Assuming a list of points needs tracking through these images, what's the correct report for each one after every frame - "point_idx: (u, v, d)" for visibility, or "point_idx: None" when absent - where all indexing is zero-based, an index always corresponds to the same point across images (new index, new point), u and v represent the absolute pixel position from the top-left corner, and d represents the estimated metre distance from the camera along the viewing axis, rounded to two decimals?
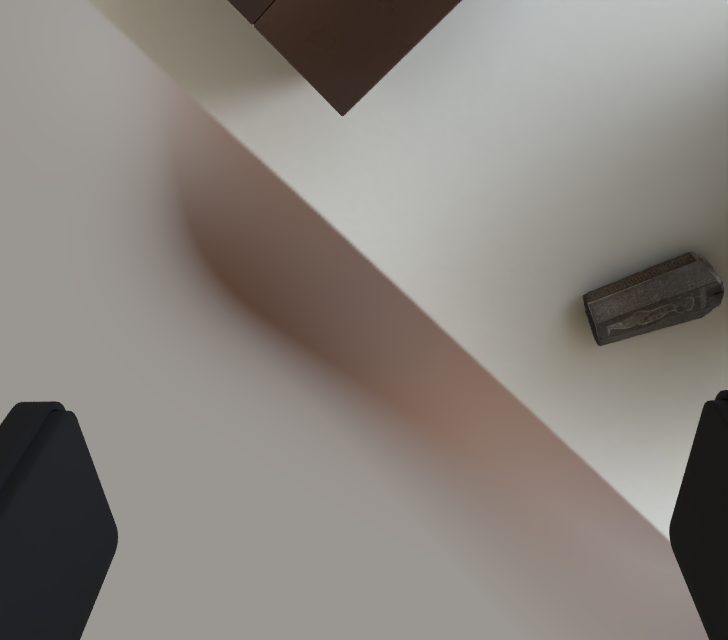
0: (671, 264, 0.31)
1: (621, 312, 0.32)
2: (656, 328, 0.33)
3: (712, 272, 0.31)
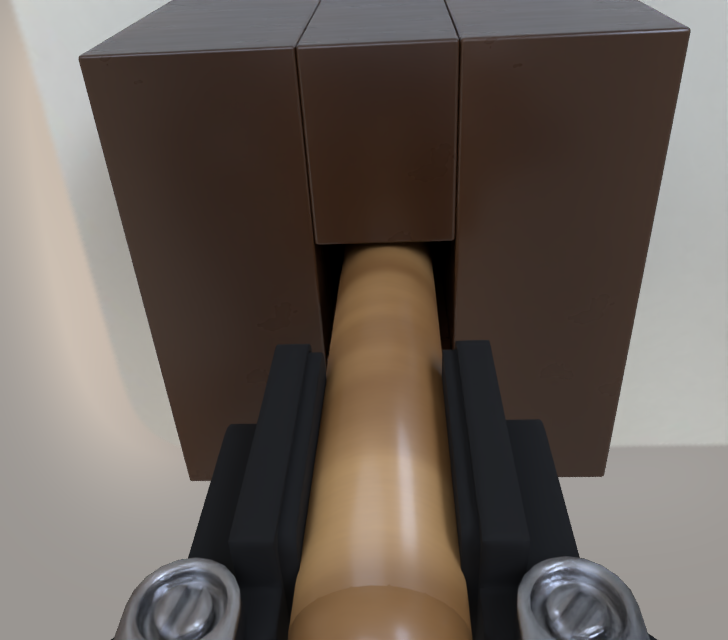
0: None
1: None
2: None
3: None
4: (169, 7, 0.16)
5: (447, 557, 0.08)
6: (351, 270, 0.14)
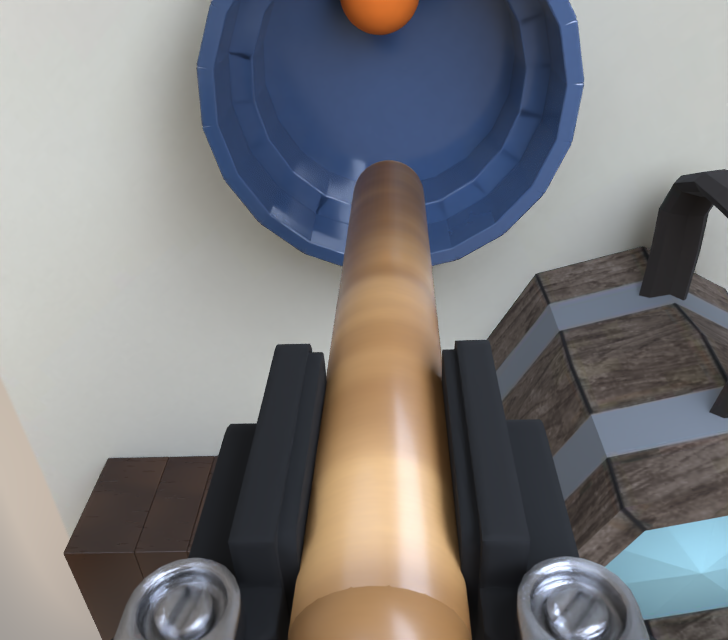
0: None
1: None
2: None
3: None
4: (100, 483, 0.40)
5: (447, 558, 0.08)
6: (351, 275, 0.14)
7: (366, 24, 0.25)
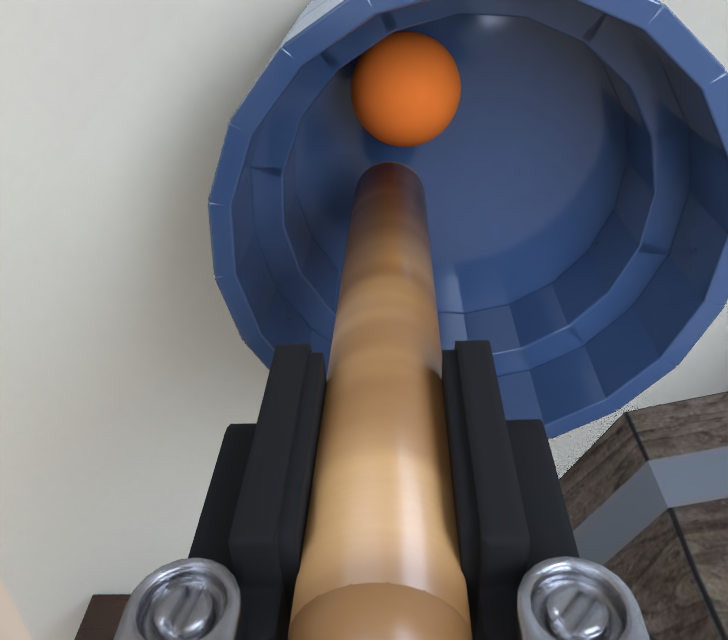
0: None
1: None
2: None
3: None
4: (82, 632, 0.34)
5: (447, 555, 0.08)
6: (352, 275, 0.14)
7: (358, 112, 0.19)
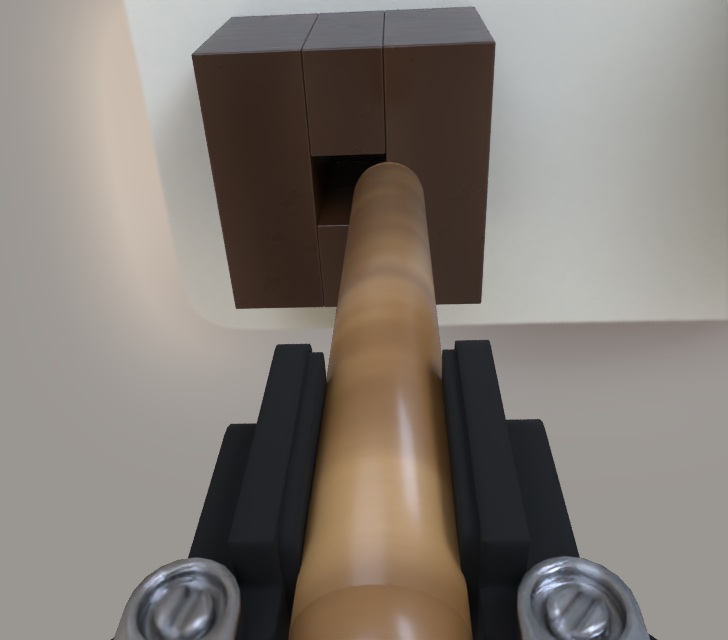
0: None
1: None
2: None
3: None
4: (227, 26, 0.28)
5: (447, 557, 0.08)
6: (351, 276, 0.14)
7: None
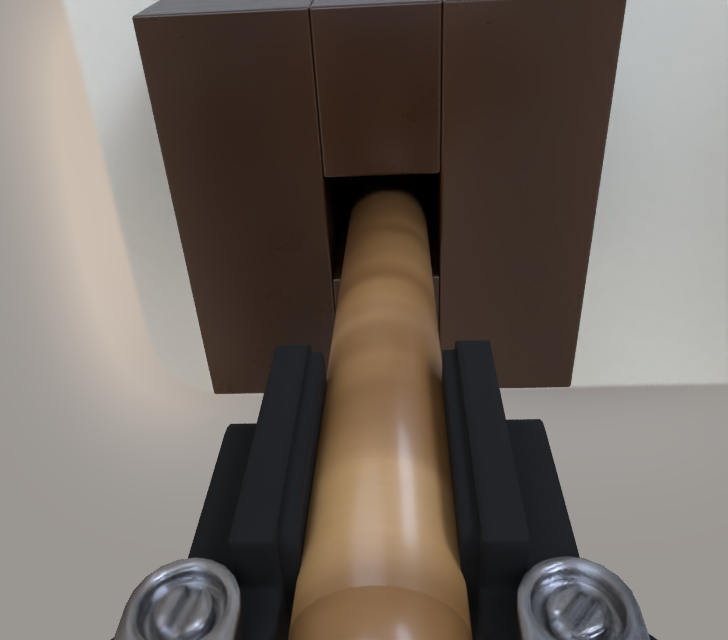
0: None
1: None
2: None
3: None
4: None
5: (447, 558, 0.08)
6: (351, 277, 0.14)
7: None
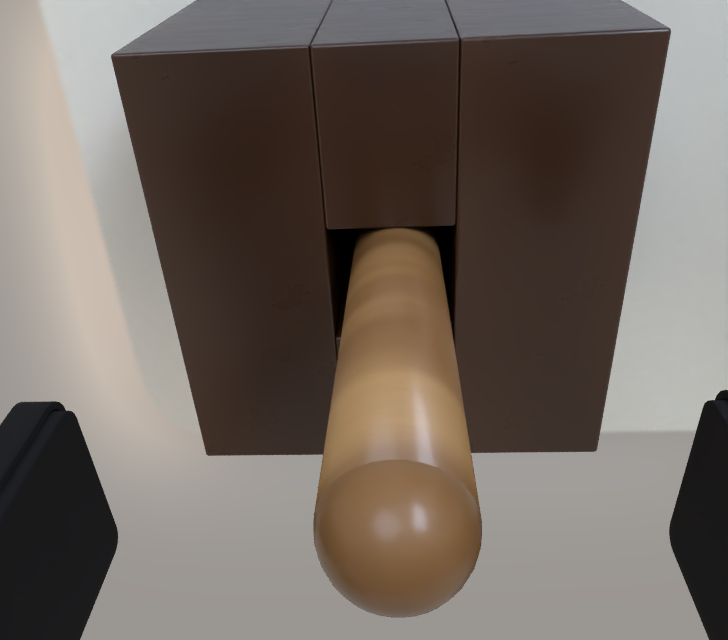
0: None
1: None
2: None
3: None
4: (189, 10, 0.17)
5: (457, 448, 0.08)
6: (364, 245, 0.15)
7: None
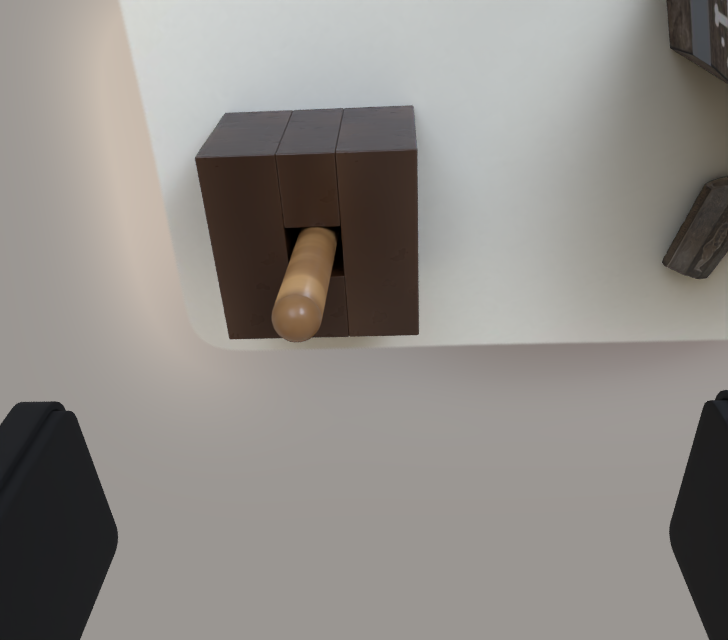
0: (698, 202, 0.39)
1: (694, 254, 0.40)
2: None
3: None
4: (222, 124, 0.36)
5: (316, 295, 0.28)
6: (300, 234, 0.34)
7: None
